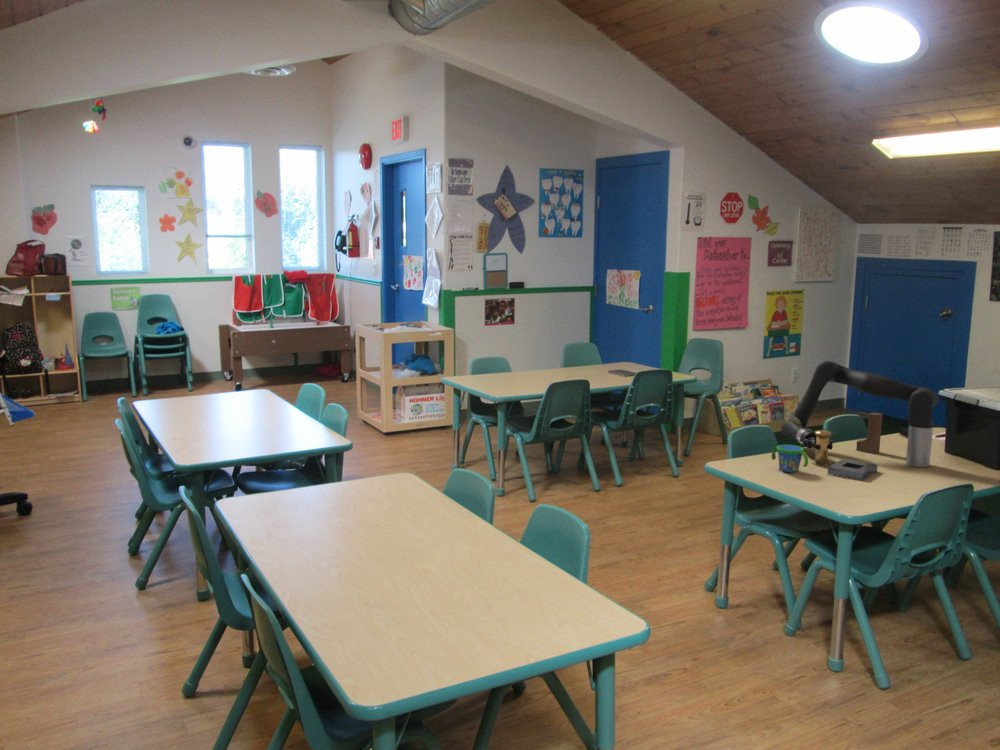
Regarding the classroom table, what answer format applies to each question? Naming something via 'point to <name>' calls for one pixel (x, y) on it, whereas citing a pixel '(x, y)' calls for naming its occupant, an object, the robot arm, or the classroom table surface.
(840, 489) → the classroom table surface
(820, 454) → the brass flanged peg
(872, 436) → the wooden block
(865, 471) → the plate
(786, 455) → the snack cup
